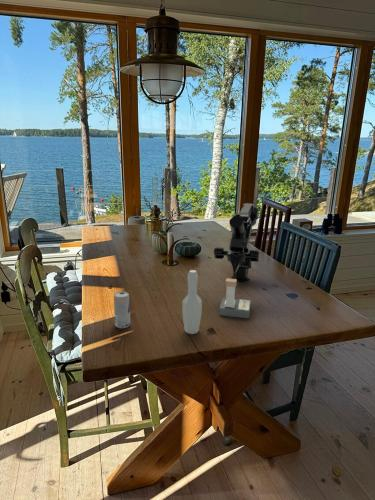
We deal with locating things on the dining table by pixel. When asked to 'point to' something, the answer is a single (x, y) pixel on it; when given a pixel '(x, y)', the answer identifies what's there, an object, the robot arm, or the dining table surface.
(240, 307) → the switch unit
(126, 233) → the dining table surface
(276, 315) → the dining table surface
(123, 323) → the energy drink
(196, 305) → the faceted bottle
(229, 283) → the slider knob
